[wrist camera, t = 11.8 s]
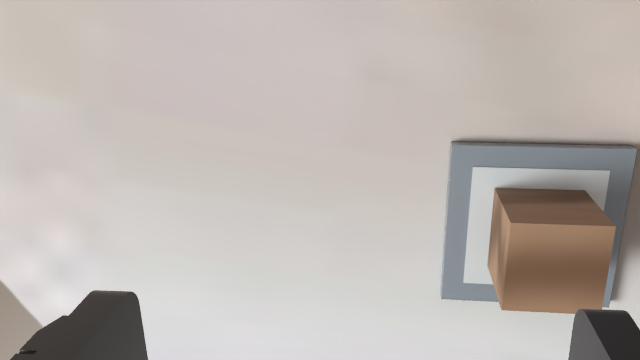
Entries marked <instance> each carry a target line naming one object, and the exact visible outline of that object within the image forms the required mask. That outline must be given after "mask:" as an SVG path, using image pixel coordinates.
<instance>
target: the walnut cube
mask: <svg viewBox="0 0 640 360" xmlns="http://www.w3.org/2000/svg"><path fill="white" fill-rule="evenodd" d="M615 230H616V226H615V225H614V223H613V222H612V221H611V220H610V219H609V218H608V216H607V215H606V214H605V213H604V212H603V211H602V209H601V208H600V207H599V206H598V205H597V204H596V203H595V201H594V200H593V199H592V198H591V197H590V196H589V194H588V193H587V192H586V191H585V190H557V189H520V188H494V198H493V209H492V220H491V231H490V242H489V252H488V263H487V266H488V269H489V272H490V275H491V278H492V282H493V285H494V288H495V291H496V294H497V297H498V300H499V304H500V307H501V310H510V311H530V312H551V313H571V314H576V312H577V311H578V310H579V309H596V310H602V306H603V300H604V294H605V288H606V283H607V277H608V271H609V265H610V259H611V253H612V247H613V241H614V236H615Z"/></svg>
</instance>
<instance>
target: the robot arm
mask: <svg viewBox="0 0 640 360" xmlns="http://www.w3.org/2000/svg"><path fill="white" fill-rule="evenodd" d="M10 360H148V357H147V351H146V344H145V338H144V331H143V325H142V318H141V312H140V305H139V301H138V298H137V296H136V294H135V293H133V292H125V291H97V290H95V291H92V292H90V293H89V294H88V295H87V296H86V298H85V299H84V300H83V301H82V302H81V303H80V304H79V305H78V306H77V307H76V309H75V310H74V311H73V312H72V313H71V314H70V315H69V316H62V317H60V318H58V319H57V320H55V321H53V322H52V323H50V324H49V325H47V326H45V327H44V328H42V329H40V330H39V331H37V332H36V333H35V334H34V335H33V336H32V338H31V339H30V340H29V341H28V342H27V343H26V344H25V345H24V346H23V347H22V348H21V349H20V353H19V354H15V355H14V356H13V357H12V359H10ZM569 360H640V330H639V328H638V327H637V325H636V324H635V322H634V321H633V319H632V318H631V316H630V315H629V313H628V312H626V311H624V310H596V309H579V310H578V311H577V312H576V314H575V318H574V323H573V330H572V338H571V345H570V352H569Z"/></svg>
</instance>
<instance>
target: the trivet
mask: <svg viewBox="0 0 640 360" xmlns="http://www.w3.org/2000/svg"><path fill="white" fill-rule="evenodd" d="M636 153H637V149H636V148H635V147H633V146H614V145H569V144H525V143H481V142H451V148H450V163H449V177H448V192H447V207H446V221H445V236H444V251H443V265H442V280H441V299H453V300H472V301H492V302H499V300H498V297H497V294H496V291H495V288H494V285H493V282H492V278H491V275H490V272H489V269H488V266H487V263H488V252H489V242H490V231H491V220H492V209H493V198H494V188H520V189H557V190H585V191H586V192H587V193H588V194H589V196H590V197H591V198H592V199H593V200H594V201H595V203H596V204H597V205H598V206H599V207H600V208H601V209H602V211H603V212H604V213H605V214H606V215H607V216H608V218H609V219H610V220H611V221H612V222H613V223H614V225H615V226H616V230H615V236H614V241H613V247H612V253H611V259H610V265H609V271H608V277H607V283H606V288H605V294H604V300H603V306H602V307H609V304H610V299H611V293H612V287H613V282H614V276H615V271H616V265H617V259H618V254H619V248H620V243H621V237H622V231H623V226H624V220H625V215H626V209H627V203H628V198H629V192H630V187H631V181H632V176H633V170H634V164H635V159H636Z"/></svg>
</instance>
